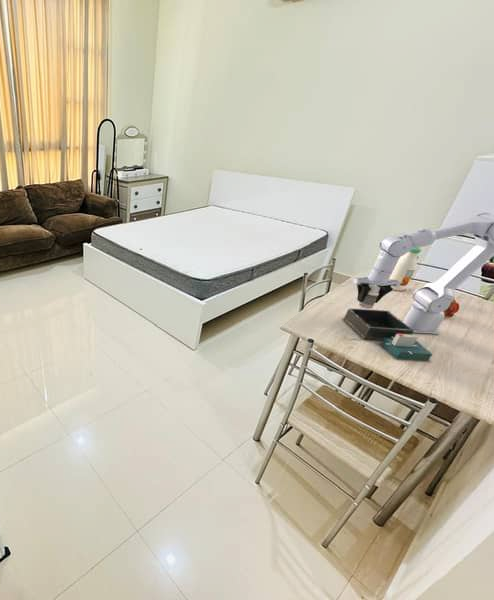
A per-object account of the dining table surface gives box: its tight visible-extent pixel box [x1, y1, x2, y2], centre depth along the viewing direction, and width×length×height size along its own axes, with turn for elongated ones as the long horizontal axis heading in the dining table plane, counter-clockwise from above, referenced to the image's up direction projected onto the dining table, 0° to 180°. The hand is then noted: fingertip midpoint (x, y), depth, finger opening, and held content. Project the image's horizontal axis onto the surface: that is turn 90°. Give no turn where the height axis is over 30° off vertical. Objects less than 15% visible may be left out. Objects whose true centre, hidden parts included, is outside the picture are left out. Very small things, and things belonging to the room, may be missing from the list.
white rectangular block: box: [392, 333, 418, 347], centre depth 109 cm, size 6×2×4 cm, turn 84°
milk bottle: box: [389, 248, 422, 292], centre depth 149 cm, size 8×8×20 cm
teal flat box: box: [380, 336, 433, 362], centre depth 110 cm, size 12×10×3 cm
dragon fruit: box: [443, 298, 460, 318], centre depth 131 cm, size 8×8×12 cm
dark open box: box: [343, 307, 414, 342], centre depth 121 cm, size 15×14×5 cm
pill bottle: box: [357, 285, 380, 310], centre depth 122 cm, size 5×5×8 cm
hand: (366, 301), depth 123 cm, fingers closed on pill bottle, 5 cm apart
